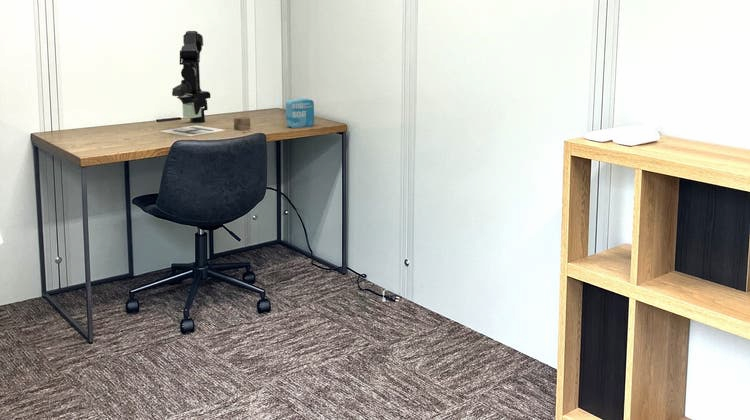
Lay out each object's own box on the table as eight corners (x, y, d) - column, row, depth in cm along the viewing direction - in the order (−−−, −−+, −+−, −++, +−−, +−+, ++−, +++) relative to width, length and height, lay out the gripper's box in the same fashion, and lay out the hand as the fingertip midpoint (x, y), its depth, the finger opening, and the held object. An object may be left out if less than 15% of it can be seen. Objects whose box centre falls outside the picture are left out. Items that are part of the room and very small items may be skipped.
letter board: (159, 133, 395) (159, 131, 394) (195, 127, 410) (195, 125, 410) (190, 138, 383) (190, 136, 382) (226, 132, 398) (226, 129, 398)
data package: (290, 128, 409) (290, 101, 405) (286, 127, 412) (285, 100, 409) (314, 126, 415) (314, 99, 412) (309, 124, 419) (309, 98, 416)
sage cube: (183, 116, 394) (182, 104, 393) (193, 115, 398) (192, 102, 397) (191, 118, 391) (190, 105, 389) (201, 116, 395) (200, 103, 394)
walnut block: (234, 131, 399) (233, 118, 398) (242, 130, 403) (242, 116, 402) (242, 133, 397) (241, 119, 395) (250, 131, 400) (250, 117, 399)
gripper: (161, 77, 390) (163, 114, 394) (190, 80, 379) (191, 118, 383) (181, 75, 398) (183, 111, 402) (210, 78, 387) (212, 115, 391)
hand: (192, 113), depth 394 cm, fingers closed on sage cube, 5 cm apart
